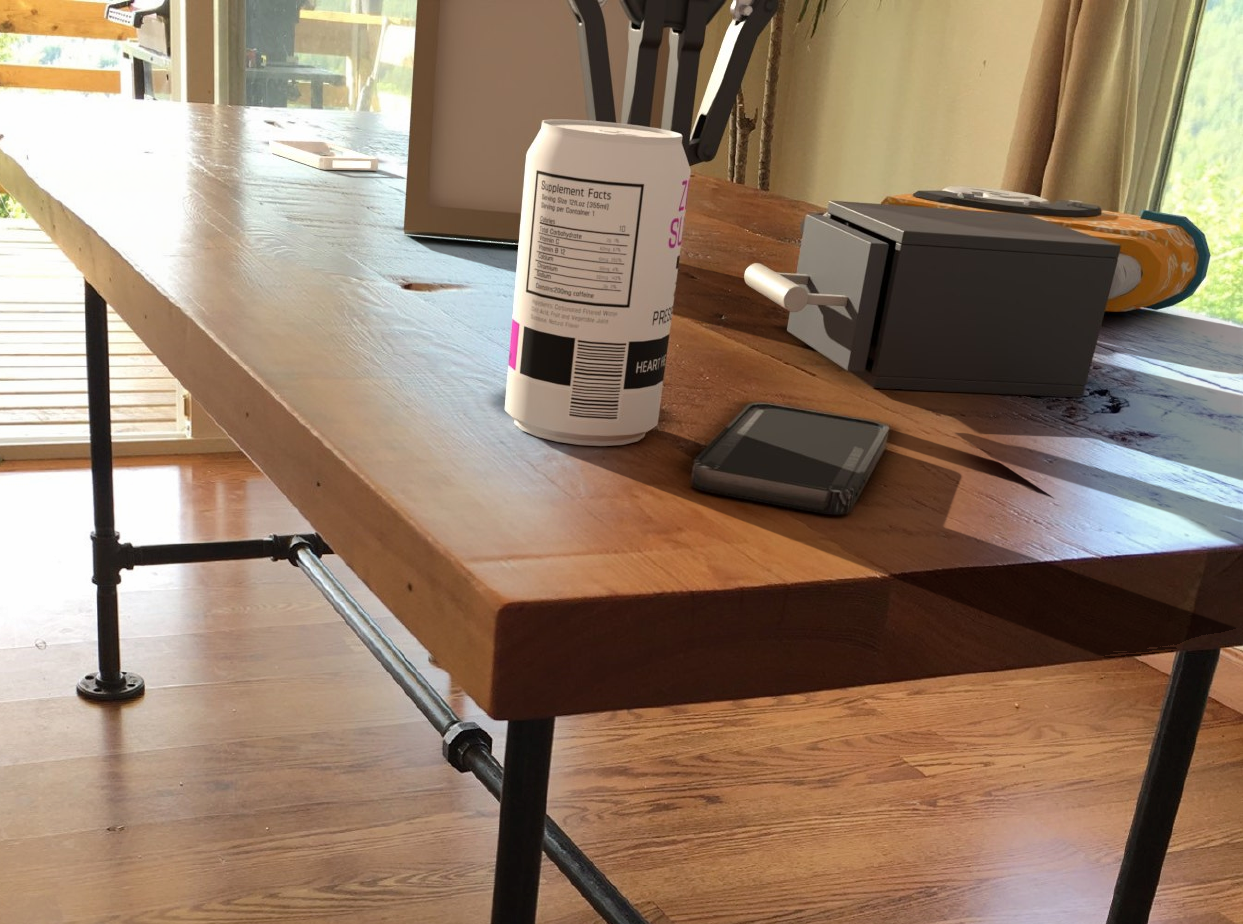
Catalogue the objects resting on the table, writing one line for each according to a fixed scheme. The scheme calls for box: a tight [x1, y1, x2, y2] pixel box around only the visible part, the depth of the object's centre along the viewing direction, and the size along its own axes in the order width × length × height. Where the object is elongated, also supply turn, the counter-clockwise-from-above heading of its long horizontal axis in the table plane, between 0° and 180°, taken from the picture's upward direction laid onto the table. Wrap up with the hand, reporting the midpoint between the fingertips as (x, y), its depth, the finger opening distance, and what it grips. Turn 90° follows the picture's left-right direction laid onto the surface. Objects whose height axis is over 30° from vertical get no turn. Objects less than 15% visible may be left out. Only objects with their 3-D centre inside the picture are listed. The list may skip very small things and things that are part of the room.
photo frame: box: [403, 0, 670, 245], centre depth 133 cm, size 15×22×25 cm
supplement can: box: [504, 120, 692, 447], centre depth 78 cm, size 8×8×15 cm
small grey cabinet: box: [804, 200, 1121, 399], centre depth 101 cm, size 15×13×10 cm
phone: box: [689, 401, 890, 516], centre depth 78 cm, size 8×1×15 cm
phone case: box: [269, 140, 379, 172], centre depth 177 cm, size 7×1×15 cm
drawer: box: [743, 213, 898, 372], centre depth 100 cm, size 18×11×8 cm, turn 100°
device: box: [799, 185, 1211, 312], centre depth 130 cm, size 23×8×30 cm
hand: (638, 277), depth 96 cm, fingers closed
